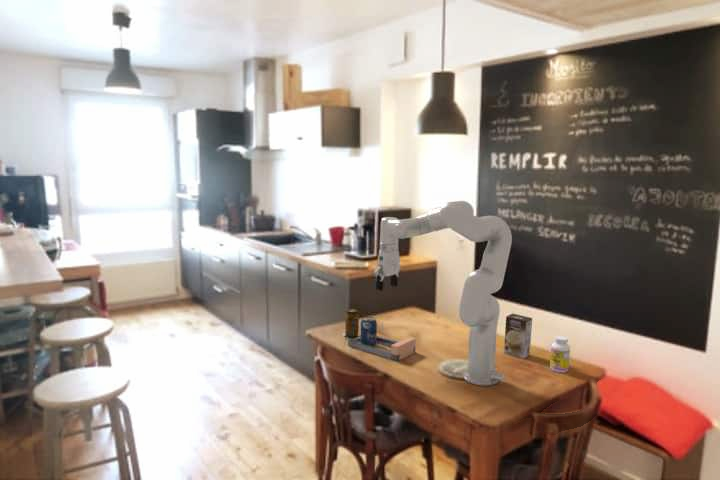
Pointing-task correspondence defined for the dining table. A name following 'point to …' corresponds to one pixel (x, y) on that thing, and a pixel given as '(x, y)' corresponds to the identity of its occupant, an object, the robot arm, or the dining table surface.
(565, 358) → the supplement bottle
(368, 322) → the soda can
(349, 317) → the condiment
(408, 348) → the stop block
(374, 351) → the guide channel
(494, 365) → the robot arm
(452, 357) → the dining table surface
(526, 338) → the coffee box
